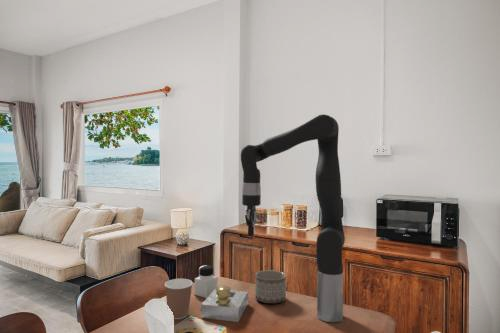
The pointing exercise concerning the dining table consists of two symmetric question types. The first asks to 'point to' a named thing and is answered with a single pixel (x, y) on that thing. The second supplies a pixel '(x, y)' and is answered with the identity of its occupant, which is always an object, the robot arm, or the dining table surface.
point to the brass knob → (223, 294)
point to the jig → (225, 306)
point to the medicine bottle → (205, 281)
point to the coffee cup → (178, 296)
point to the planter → (270, 286)
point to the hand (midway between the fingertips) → (251, 235)
